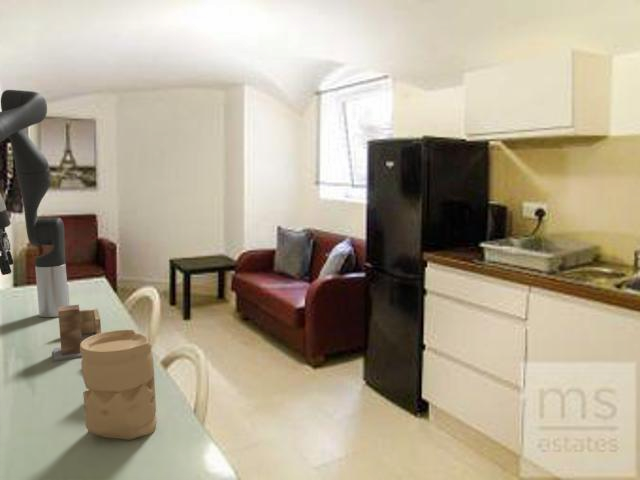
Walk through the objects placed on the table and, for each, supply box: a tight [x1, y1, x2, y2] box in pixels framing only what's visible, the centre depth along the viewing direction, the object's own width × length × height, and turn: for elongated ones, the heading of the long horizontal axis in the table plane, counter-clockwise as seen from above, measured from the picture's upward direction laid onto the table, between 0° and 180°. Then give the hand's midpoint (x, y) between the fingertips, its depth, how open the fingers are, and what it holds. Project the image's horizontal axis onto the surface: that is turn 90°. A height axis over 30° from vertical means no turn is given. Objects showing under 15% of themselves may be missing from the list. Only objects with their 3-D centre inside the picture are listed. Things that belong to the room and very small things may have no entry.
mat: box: [53, 346, 83, 362], centre depth 140 cm, size 9×9×1 cm
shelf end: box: [79, 308, 102, 335], centre depth 151 cm, size 9×13×7 cm
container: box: [80, 328, 157, 441], centre depth 97 cm, size 13×13×18 cm
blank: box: [58, 304, 83, 355], centre depth 139 cm, size 5×5×12 cm
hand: (8, 269), depth 137 cm, fingers open, 8 cm apart
